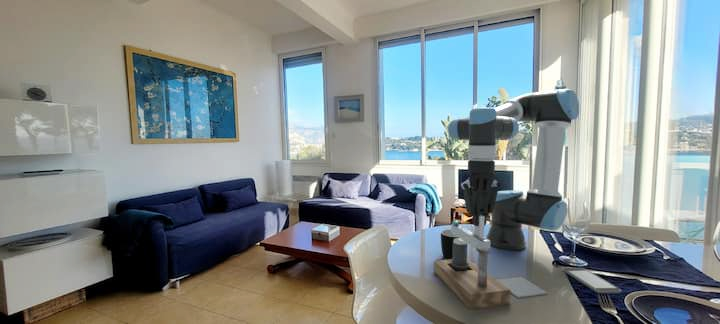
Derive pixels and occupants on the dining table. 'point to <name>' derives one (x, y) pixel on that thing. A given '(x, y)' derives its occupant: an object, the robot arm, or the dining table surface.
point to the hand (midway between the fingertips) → (479, 235)
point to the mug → (447, 243)
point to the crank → (470, 238)
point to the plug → (459, 255)
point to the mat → (522, 287)
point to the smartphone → (592, 280)
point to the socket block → (473, 283)
